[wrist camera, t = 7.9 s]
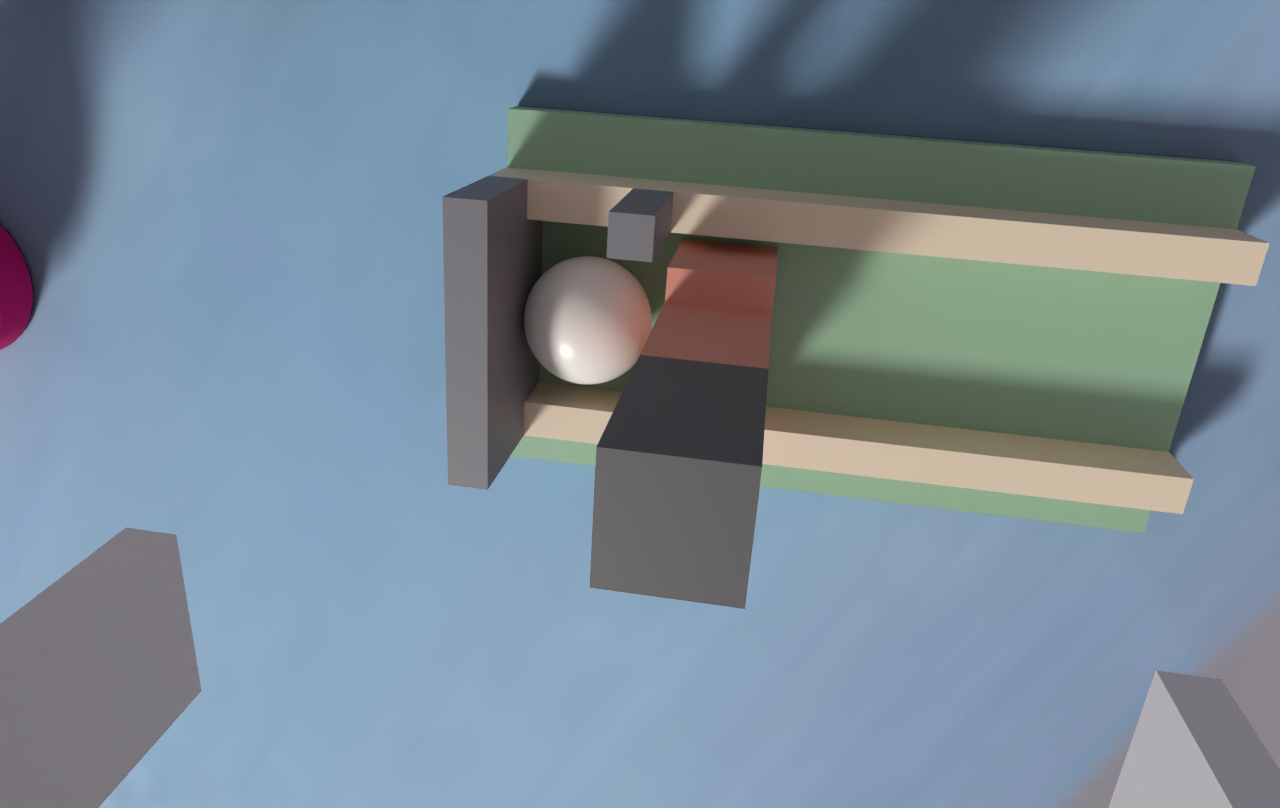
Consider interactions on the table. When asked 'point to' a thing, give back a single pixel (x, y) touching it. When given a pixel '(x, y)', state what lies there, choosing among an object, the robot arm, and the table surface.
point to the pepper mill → (13, 291)
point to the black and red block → (690, 434)
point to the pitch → (870, 303)
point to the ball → (587, 320)
